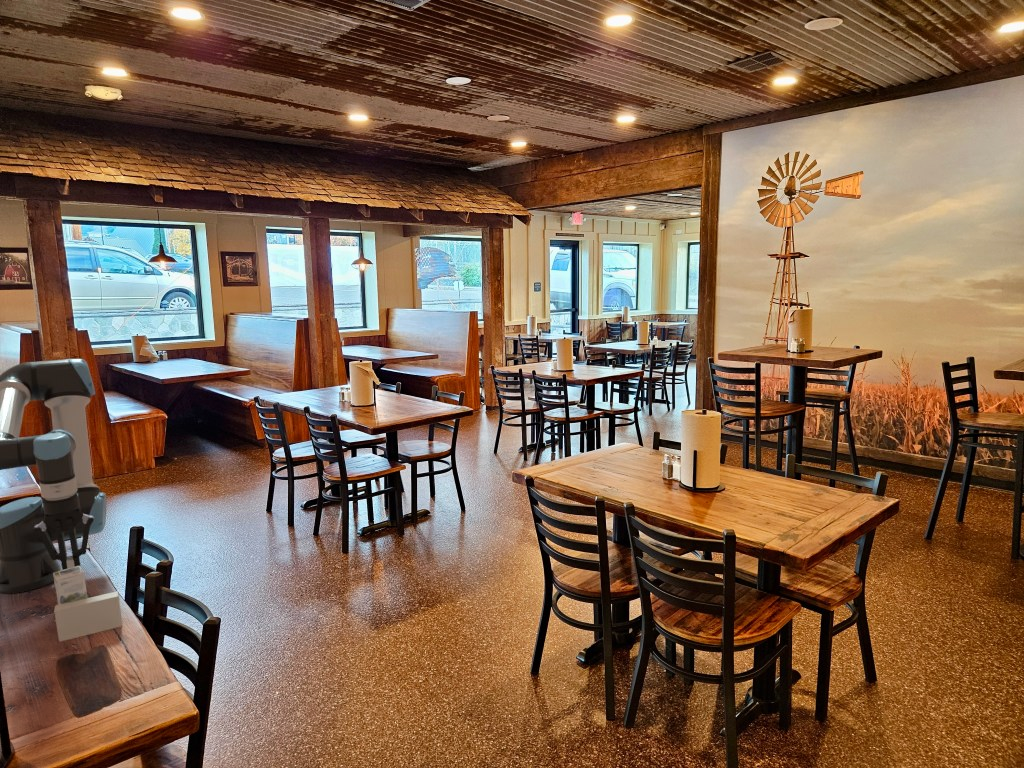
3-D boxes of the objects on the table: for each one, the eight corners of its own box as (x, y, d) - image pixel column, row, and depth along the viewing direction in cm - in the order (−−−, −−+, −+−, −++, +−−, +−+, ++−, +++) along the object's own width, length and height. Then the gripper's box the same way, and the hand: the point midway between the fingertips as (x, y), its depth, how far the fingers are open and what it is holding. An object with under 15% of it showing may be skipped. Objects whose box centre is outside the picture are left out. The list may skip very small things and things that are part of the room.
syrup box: (87, 617, 169) (79, 564, 167) (92, 626, 165) (83, 571, 162) (60, 625, 166) (52, 571, 163) (64, 635, 161) (55, 579, 159)
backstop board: (60, 635, 161) (55, 605, 160) (122, 620, 167) (118, 591, 166) (59, 641, 158) (54, 610, 157) (122, 626, 165) (117, 596, 163)
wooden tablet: (126, 696, 136) (67, 712, 130) (126, 706, 136) (67, 723, 130) (106, 641, 157) (54, 653, 150) (106, 650, 157) (54, 662, 151)
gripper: (26, 505, 160) (41, 594, 166) (90, 495, 167) (102, 581, 172) (30, 495, 167) (44, 581, 172) (91, 485, 173) (103, 569, 178)
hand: (73, 581), depth 172 cm, fingers closed
